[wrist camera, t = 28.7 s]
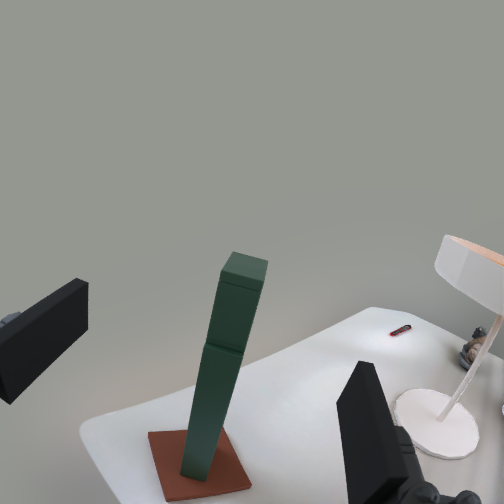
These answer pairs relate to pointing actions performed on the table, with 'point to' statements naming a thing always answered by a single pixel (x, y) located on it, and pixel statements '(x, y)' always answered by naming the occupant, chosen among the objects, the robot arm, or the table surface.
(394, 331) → the pen
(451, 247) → the white stemmed bowl
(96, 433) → the table surface
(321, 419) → the table surface
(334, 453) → the table surface
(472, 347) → the bison figurine
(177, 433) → the cork pad
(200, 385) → the green block with loop
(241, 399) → the table surface
